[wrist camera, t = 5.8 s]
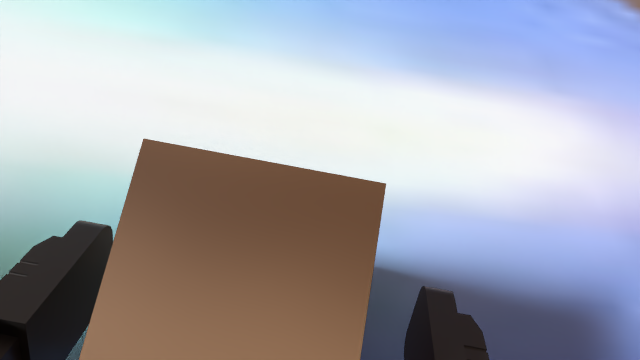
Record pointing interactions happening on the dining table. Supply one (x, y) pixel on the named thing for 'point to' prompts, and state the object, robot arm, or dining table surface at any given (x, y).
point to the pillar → (236, 261)
